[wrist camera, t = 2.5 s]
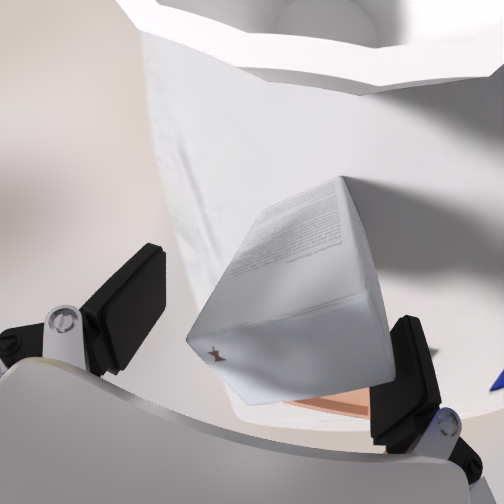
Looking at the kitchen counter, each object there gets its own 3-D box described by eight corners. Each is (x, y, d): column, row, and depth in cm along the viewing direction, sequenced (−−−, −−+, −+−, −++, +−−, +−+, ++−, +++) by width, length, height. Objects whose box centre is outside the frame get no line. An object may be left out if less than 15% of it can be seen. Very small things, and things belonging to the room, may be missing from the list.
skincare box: (289, 260, 20) (243, 408, 10) (260, 209, 19) (177, 338, 8) (368, 230, 17) (399, 384, 7) (343, 172, 16) (368, 286, 6)
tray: (423, 348, 21) (427, 364, 19) (370, 405, 26) (370, 419, 25) (306, 318, 22) (304, 335, 20) (274, 384, 28) (270, 399, 26)
